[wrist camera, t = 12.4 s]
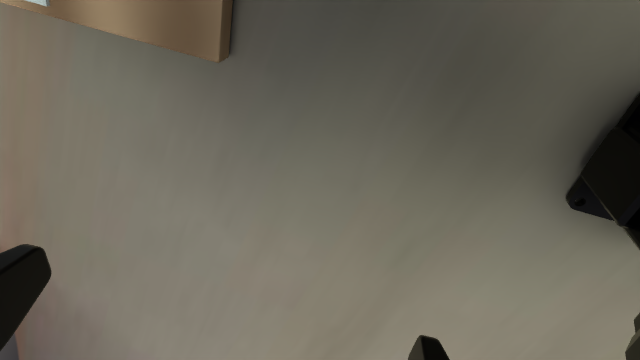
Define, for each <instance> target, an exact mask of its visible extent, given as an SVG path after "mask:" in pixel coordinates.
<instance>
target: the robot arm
mask: <svg viewBox="0 0 640 360" xmlns="http://www.w3.org/2000/svg"><path fill="white" fill-rule="evenodd" d="M578 198H582V200H581V201H578V202H575V200H576V199H578ZM566 201H567V203H568V204H569V206H570V207H571V208H572V209H574V210H577V211H581V212H584V213H588V214H592V215H595V216H599V217H602V218H606V219H609V220H613V221H615V222H616V224H617V225H619V226H621V227H622V228H623V229H624V230H625V232H626V233H627V234H628V235H629V237H630V238H631V239H632V241H633V242H634V243H635V245H636V246H637V247H638V248H639V250H640V94H639V95H638V97H637V98H636V100H635V101H634V102H633V104H632V105H631V107H630V108H629V109H628V111H627V112H626V114H625V115H624V116H623V118H622V119H621V121H620V122H619V123H618V125H617V126H616V128H615V129H613V130H611V131H610V132H609V134H608V135H607V137H606V138H605V139H604V141H603V142H602V144H601V145H600V146H599V148H598V149H597V151H596V152H595V154H594V155H593V156H592V158H591V159H590V161H589V162H588V163H587V165H586V166H585V168H584V169H583V171H582V172H581V177H580V178H579V180H578V181H577V182H576V184H575V185H574V187H573V188H572V189H571V191H570V192H569V194H568V195H567V197H566ZM50 277H51V268H50V265H49V262H48V259H47V256H46V253H45V251H44V249H43V248H41V247H38V246H34V245H29V244H23V245H19V246H17V247H14V248H12V249H9V250H7V251H4V252H2V253H0V351H1V350H2V349H3V347H4V346H5V345H6V343H7V342H8V341H9V339H10V338H11V337H12V335H13V334H14V332H15V331H16V330H17V328H18V327H19V325H20V324H21V322H22V321H23V319H24V318H25V316H26V315H27V313H28V312H29V310H30V309H31V307H32V306H33V304H34V303H35V301H36V300H37V298H38V297H39V295H40V294H41V292H42V291H43V289H44V288H45V286H46V285H47V283H48V281H49V279H50ZM634 325H635V332H636V334H635V335H634V336H633V337H632V339H631V341H630V343H629V345H628V347H627V350H626V352H625V354H626V360H640V313H639V314H638V315H637V317H636V318H635V319H634ZM408 360H450V359H449V358H448V356H447V354H446V352H445V350H444V349H443V347H442V345H441V343H440V342H439V340H437V339H436V338H433V337H429V336H424V335H420V336H419V337H418V338H417V340H416V342H415V344H414V346H413V348H412V350H411V352H410V354H409V357H408Z"/></svg>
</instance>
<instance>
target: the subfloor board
mask: <svg viewBox="0 0 640 360" xmlns="http://www.w3.org/2000/svg"><path fill="white" fill-rule="evenodd" d="M0 2H2V3H5V4H9V5H12V6H16V7H20V8H23V9H27V10H30V11H34V12H38V13H41V14H45V15H48V16H52V17H55V18H59V19H63V20H66V21H70V22H73V23H77V24H81V25H84V26H88V27H91V28H95V29H99V30H102V31H106V32H109V33H113V34H116V35H120V36H124V37H127V38H131V39H134V40H138V41H142V42H145V43H149V44H152V45H156V46H160V47H163V48H167V49H170V50H174V51H178V52H181V53H185V54H188V55H192V56H195V57H199V58H203V59H206V60H210V61H213V62H217V63H219V62H221V61H223V60H224V59H226V58H228V57H229V43H230V30H231V17H232V3H233V0H0Z"/></svg>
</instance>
